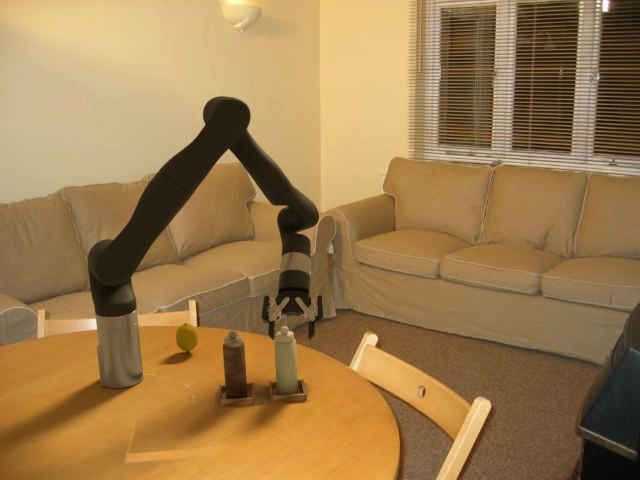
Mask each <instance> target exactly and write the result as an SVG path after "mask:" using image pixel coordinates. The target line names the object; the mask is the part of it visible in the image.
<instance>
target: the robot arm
mask: <svg viewBox="0 0 640 480" xmlns="http://www.w3.org/2000/svg"><path fill="white" fill-rule="evenodd" d="M251 116H252V115H251V110H250V107H249V106H248V104H247V103H246V102H245V101H244V100H243V99H240V98H237V97H234V96H225V95H220V96H219V95H218V96H215V97H212V98H210V99H209V100H207V102H206V103H205V105H204V107H203V111H202V118H203V122H204V126H203V127H202V128H201V130H200V132H198V134H197V135H196V136H195V138H194V139H193V140H192V141H191V142H190V143H189V144H187V146H185V147H184V148H183V149H181V150H180V151H179V152H177V153H176V154H174V155H173V156H172V157H171V158H169V159H168V160H167V161H166V162H165V163H164V164H163V165H162V166H161V167H160V169H159V170H158V171H157V172H156V173H155V175H154V176H153V177H152V178H151V179H150V181H149V182H148V184H147V185H146V186H145V188H144V189H143V191H142V194H141V195H140V197H139V199H138V201H137V204H136V207H135V208H134V211H133V213H132V215H131V217H130V219H129V220H128V222H127V223H126V225H125V226H124V227H123V229H121V231H120V232H119V233H118V234H117V235H116V237H115V238H114V239H111V238H106V239H105V238H104V239H102V240H100V241H98V242H96V243H95V244H94V245H93V246H92V247H91V248H90V250H89V252H88V256H87V271H88V279H89V285H90V286H89V287H90V293H91V299H92V301H93V302H92V303H93V307H94V313H95V321H96V322H95V324H96V332H97V340H98V344H97V347H96V353H97V354H96V355H97V362H98V372H99V379H100V386H101V387H108V388H110V389H111V388H112V389H123V388H129V387H132V386H135V385H137V384H139V383H141V382H142V381H143V379H144V368H143V358H142V357H143V356H142V348H141V345H142V344H141V337H140V324H139V318H138V306H137V298H136V297H137V296H136V294H135V291H134V288H133V283H132V282H133V281H132V276H134V274H135V272H136V271H137V269H138V268H139V266H140V264H142V261H143V259H144V258H145V257H146V255H147V253H149V250H150V249H151V247H152V246H153V244H154V243H155V242H156V240H157V239H158V238H159V236H161V234H162V233H163V232H164V231H165V229H166V228H167V227H168V226H169V225H170V223H171V222H172V221H173V220H174V219H175V217H176V216H177V215H178V213H180V211H181V210H182V209H183V208H184V206H185V205H186V204H187V202H188V201H189V200H190V199H191V198H192V196H193V195H194V194H195V192H196V190H197V189H198V188H199V186H200V185H202V183H203V181H204V180H205V178H207V176H208V175H209V174H210V172H211V171H212V170H213V168H214V167H215V165H216V164H217V162H218V161H219V160H220V159H221V157H223V155H225V153H226V152H227V151H228V150H229V151H230V153H232V155H234V156H235V158H236V159H237V160H238V161H239V162H240V164H241V165H242V167H243V168H244V169H245V170H246V172H247V173H248V175H249V176H250V178H251V179H252V181H254V183H255V184H256V186H257V187H258V189H259V190H260V192H261V193H262V194H263V195H264V197H265V198H266V199H267V201H268V202H269V203H270V204H271V205H272V206H275V207H277V206H279V207H281V206H284V207H283V208H282V209H280V211H279V212H278V214H277V218H276V223H277V228H278V232H279V236H280V240H281V245H282V247H281V258H280V264H279V273H278V287H277V289H278V290H277V296H276V297H270V296H269V295H264V297H263V303H262V309H261V310H262V311H261V320H262V323H263V324H268V331H267V332H268V337H269V338H270V339H271V340H272V341H275V340H276V333H277V331H276V329H277V328H276V327H277V322H279V321H280V320H281V319H282V318H283V317H284V316H287V317H291V316H295V317H301V316H303V317H304V319H306V320H307V321H308V330H307V331H308V332H307V335H308V336H307V338H308V341H312V340H313V338H315V337H316V325H317V324H320V323H321V324H322V323H324V321H325V318H324V317H325V315H324V299H323V296H322V295H317V296H315V297H314V296H313V297H311V277H312V272H311V271H312V269H311V268H312V267H311V266H312V265H311V248H312V247H311V246H312V245H311V240H310V238H309V236H307V235H305V234H304V233H303V234H302V233H300V232H303V231H305V230H310V229H312V228H314V227H315V226H317V224H319V220H320V214H319V210H318V208H317V206H316V205H315V203H314V202H313V201H312V200H311V199H310V198H309V197H307V196H306V195H305V194H304V193H303V192H301V191H300V190H299V189H298V188H296V187H295V186H294V185H293V184H292V182H291V181H290V180H289V178H288V176H287V175H286V173H284V171H283V170H282V169H281V167H280V166H279V164H278V163H277V162H276V161H275V160H274V159H273V158H272V157H271V156H270V155H269V154H268V153H267V152H266V151H265V150H264V149H263V148H262V147H261V146H260V145H259V144H258V142H257V141H256V140H255V139H254V138H253V136H252V135H251V133H250V132H249V130H248V128H249V126H250V122H251V118H252V117H251ZM285 206H286V207H285ZM274 304H276V306H277V307H276V308H275V309H274V311H273V313H272V314H271V315H270V308H272V307H273V306H274ZM311 304H313V305H314V307H315V308H317V310H316V311H317V315H315V316H314V315H313V314H312V312H311V310H310V308H309V307H310V306H311Z"/></svg>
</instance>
